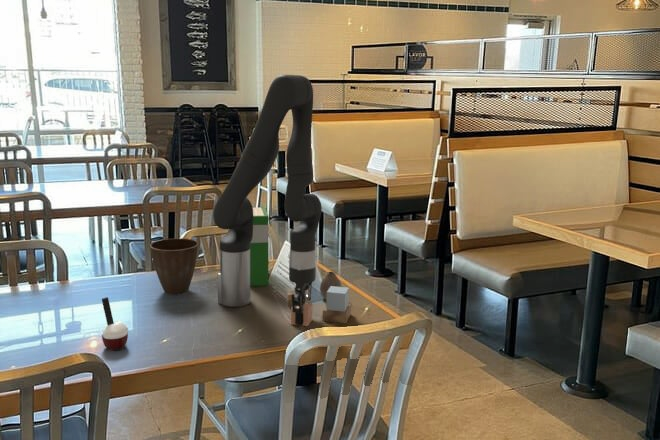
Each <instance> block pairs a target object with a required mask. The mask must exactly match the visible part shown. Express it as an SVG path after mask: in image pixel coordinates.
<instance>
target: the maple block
mask: <svg viewBox="0 0 660 440" xmlns="http://www.w3.org/2000/svg"><path fill="white" fill-rule="evenodd" d="M292 294H294V289H292V290H286V305H287V308H291V307H292Z"/></svg>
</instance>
